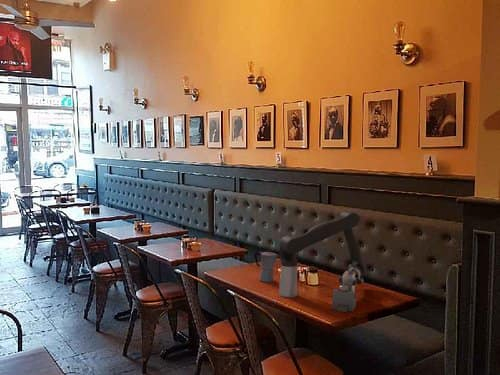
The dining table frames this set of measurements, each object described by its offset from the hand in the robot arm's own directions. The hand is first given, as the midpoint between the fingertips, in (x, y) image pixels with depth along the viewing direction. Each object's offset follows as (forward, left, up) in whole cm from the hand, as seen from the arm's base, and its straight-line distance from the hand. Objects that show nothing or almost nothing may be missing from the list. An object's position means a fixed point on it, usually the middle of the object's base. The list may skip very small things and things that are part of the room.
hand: (348, 283), depth 253 cm
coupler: (0, -10, -10) cm, 14 cm away
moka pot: (-55, +24, -11) cm, 61 cm away
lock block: (0, +3, -7) cm, 8 cm away
